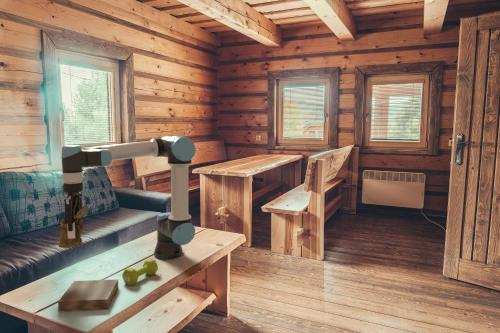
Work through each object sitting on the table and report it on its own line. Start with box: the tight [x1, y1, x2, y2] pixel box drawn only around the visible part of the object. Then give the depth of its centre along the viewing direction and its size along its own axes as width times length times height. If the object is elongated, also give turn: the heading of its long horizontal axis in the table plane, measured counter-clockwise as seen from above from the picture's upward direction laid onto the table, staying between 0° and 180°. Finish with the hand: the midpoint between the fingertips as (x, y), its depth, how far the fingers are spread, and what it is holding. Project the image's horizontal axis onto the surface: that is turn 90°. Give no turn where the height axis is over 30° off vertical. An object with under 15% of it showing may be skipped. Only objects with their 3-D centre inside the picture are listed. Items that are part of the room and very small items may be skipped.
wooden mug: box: [58, 205, 89, 249], centre depth 157 cm, size 9×14×18 cm, turn 73°
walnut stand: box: [57, 279, 119, 313], centre depth 150 cm, size 18×18×4 cm
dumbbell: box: [122, 258, 159, 286], centre depth 170 cm, size 16×8×7 cm, turn 150°
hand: (74, 235), depth 158 cm, fingers closed on wooden mug, 7 cm apart
